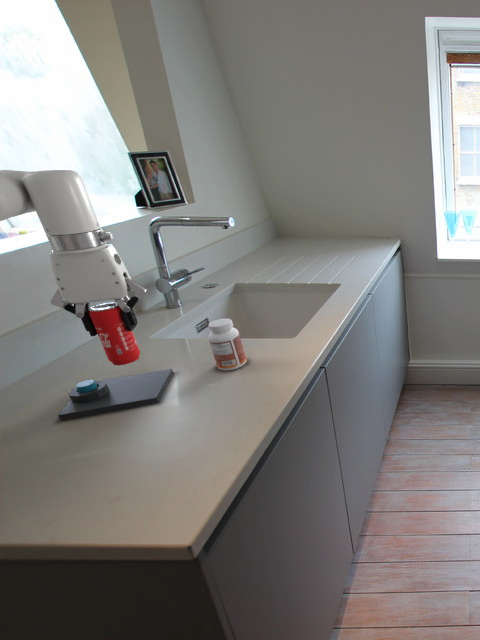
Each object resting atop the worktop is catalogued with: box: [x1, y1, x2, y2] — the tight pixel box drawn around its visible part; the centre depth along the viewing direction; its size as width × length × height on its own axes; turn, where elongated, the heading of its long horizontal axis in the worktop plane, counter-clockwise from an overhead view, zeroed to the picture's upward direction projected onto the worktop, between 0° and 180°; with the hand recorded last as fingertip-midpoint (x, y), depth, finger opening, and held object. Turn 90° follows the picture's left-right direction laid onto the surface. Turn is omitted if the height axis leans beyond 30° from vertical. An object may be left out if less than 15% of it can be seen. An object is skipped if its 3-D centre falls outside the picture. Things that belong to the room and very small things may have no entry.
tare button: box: [75, 379, 98, 393], centre depth 91 cm, size 3×3×2 cm
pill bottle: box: [207, 318, 247, 371], centre depth 103 cm, size 6×6×11 cm
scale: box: [58, 368, 175, 422], centre depth 93 cm, size 16×13×3 cm
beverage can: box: [89, 301, 141, 366], centre depth 89 cm, size 5×5×12 cm
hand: (114, 330), depth 89 cm, fingers closed on beverage can, 5 cm apart
